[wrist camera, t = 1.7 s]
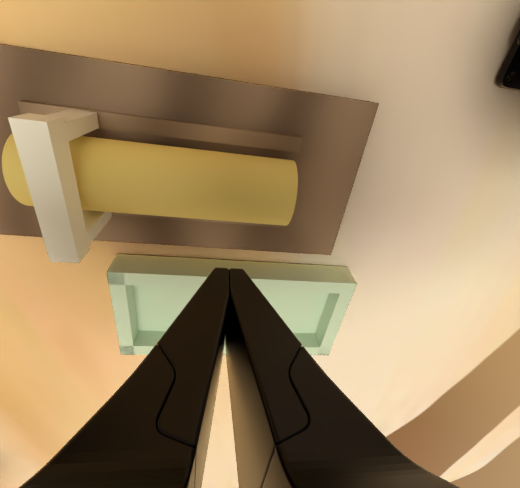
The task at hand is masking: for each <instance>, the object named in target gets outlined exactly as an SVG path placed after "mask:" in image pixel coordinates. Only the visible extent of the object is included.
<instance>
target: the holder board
mask: <svg viewBox="0 0 520 488" xmlns="http://www.w3.org/2000/svg"><path fill="white" fill-rule="evenodd" d="M378 105H379V103H374V102H369V101H362V100H356V99H349V98H343V97H337V96H330V95H324V94H318V93H311V92H305V91H298V90H292V89H286V88H279V87H273V86H267V85H260V84H254V83H247V82H241V81H235V80H228V79H222V78H216V77H209V76H203V75H196V74H190V73H184V72H177V71H171V70H165V69H158V68H152V67H145V66H139V65H133V64H126V63H120V62H113V61H107V60H101V59H94V58H88V57H82V56H75V55H69V54H62V53H56V52H50V51H43V50H37V49H31V48H24V47H18V46H11V45H5V44H0V234H2V235H18V236H34V237H43V236H42V232H41V229H40V225H39V222H38V219H37V215H36V212H35V208H34V206H27V205H23V204H21V203H20V202H18V201H17V200H16V199H15V198H14V197H13V196H12V194H11V193H10V191H9V189H8V187H7V185H6V183H5V180H4V176H3V171H2V153H3V148H4V145H5V143H6V141H7V139H8V137H9V136H10V135H11V134H12V130H11V127H10V123H9V120H8V117H12V116H17V115H22V114H26V113H33V114H41V115H47V114H52V113H56V112H60V111H64V110H68V109H74V110H81V111H89V112H97V116H98V123H99V128H98V129H95V130H93V131H91V132H89V133H87V134H84V135H82V136H87V137H96V138H104V139H113V140H122V141H130V142H139V143H148V144H156V145H165V146H173V147H182V148H191V149H199V150H208V151H217V152H225V153H234V154H243V155H251V156H260V157H268V158H277V159H286V160H293V161H295V163H296V166H297V172H298V189H297V198H296V204H295V209H294V213H293V216H292V219H291V221H290V223H289V224H288V225H287V226H283V225H270V224H257V223H244V222H231V221H218V220H205V219H192V218H179V217H167V216H154V215H141V214H128V213H115V212H111V214H112V217H111V219H110V220H109V221H108V222H107V224H106V225H105V226H104V227H103V229H102V230H101V231H100V233H99V234H98V235H97V236H96V238H95V239H94V240H99V241H115V242H131V243H147V244H163V245H179V246H195V247H211V248H227V249H243V250H259V251H275V252H291V253H307V254H323V255H331V253H332V249H333V246H334V243H335V240H336V237H337V234H338V231H339V227H340V224H341V221H342V218H343V215H344V212H345V209H346V205H347V202H348V199H349V196H350V193H351V190H352V187H353V183H354V180H355V177H356V174H357V171H358V168H359V165H360V161H361V158H362V155H363V152H364V149H365V146H366V143H367V140H368V136H369V133H370V130H371V127H372V124H373V121H374V118H375V114H376V111H377V108H378Z"/></svg>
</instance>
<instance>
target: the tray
mask: <svg viewBox="0 0 520 488" xmlns="http://www.w3.org/2000/svg"><path fill="white" fill-rule="evenodd" d="M216 267H220V268H228V269H230V268H238V269H243V270H244V271H245V272H246V273H247V275H248V276H249V277H250V278H251V280H252V281H253V282H254V283H255V285H256V286H257V287H258V289H259V290H260V291H261V292H262V294H263V295H264V296H265V298H266V299H267V300H268V301H269V303H270V304H271V305H272V307H273V308H274V309H275V310H276V312H277V313H278V314H279V316H280V317H281V318H282V319H283V321H284V322H285V323H286V325H287V326H288V327H289V328H290V330H291V331H292V332H293V334H294V335H295V336H296V337H297V339H298V340H299V341H300V343H301V344H302V346H303V347H304V348H305V349H306V350H307V351H308V353H309V354H310V355H329V352H330V350H331V347H332V345H333V342H334V340H335V337H336V335H337V332H338V330H339V327H340V325H341V322H342V320H343V317H344V315H345V312H346V310H347V307H348V305H349V302H350V300H351V297H352V295H353V292H354V290H355V287H356V285H357V283H356V281H355V280H354V278H353V277H352V275H351V273H350V272H349V270H348V268H347V267H344V266H326V265H308V264H290V263H272V262H255V261H237V260H219V259H201V258H183V257H166V256H148V255H130V254H117V255H116V257H115V259H114V261H113V262H112V264H111V266H110V267H109V269H108V271H107V277H108V283H109V289H110V295H111V300H112V306H113V312H114V318H115V323H116V329H117V335H118V341H119V346H120V352H121V355H148V354H149V353H150V351H151V350H152V349H153V347H154V346H155V345H157V342H158V341H159V340H160V338H161V337H162V336H163V335H164V333H165V332H166V331H167V329H168V328H169V327H170V325H171V324H172V323H173V321H174V320H175V319H176V318H177V316H178V315H179V314H180V312H181V311H182V310H183V308H184V307H185V306H186V304H187V303H188V302H189V301H190V299H191V298H192V297H193V295H194V294H195V293H196V291H197V290H198V289H199V288H200V286H201V285H202V284H203V282H204V281H205V280H206V278H207V277H208V276H209V274H210V273H211V272H212V271H213V269H214V268H216ZM223 355H226V346H225V343H224V350H223Z"/></svg>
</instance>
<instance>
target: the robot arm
mask: <svg viewBox="0 0 520 488" xmlns="http://www.w3.org/2000/svg"><path fill="white" fill-rule="evenodd" d="M509 74H510V78H509V79H508V80H507V77H508V75H509ZM497 85H498V86H500V87H503V88H509V89H514V90H520V32H519V34H518V36H517V38H516V40H515V42H514V44H513V46H512V48H511V50H510V52H509V54H508V56H507V59H506V61H505V63H504V65H503V67H502V69H501V71H500V73H499V75H498V77H497ZM224 343H225V346H226V358H227V368H228V379H229V389H230V399H231V410H232V420H233V430H234V441H235V451H236V461H237V472H238V482H239V488H460V487H458V486H456V485H454V484H452V483H450V482H448V481H446V480H444V479H442V478H440V477H438V476H436V475H434V474H433V473H431V472H428V471H427V470H425V469H424V468H422V467H421V466H419V465H417V464H416V463H414V462H413V461H412V460H410V459H409V458H408V457H407V456H405V455H404V454H403V453H402V452H401V451H400V450H398V449H397V448H396V447H395V446H394V445H393V444H392V443H391V442H390V441H389V440H388V439H387V438H386V437H385V436H384V435H383V434H382V433H381V432H380V431H379V430H378V429H377V428H376V427H375V426H374V425H373V423H372V422H371V421H370V420H369V419H368V418H367V417H366V416H365V415H364V414H363V413H362V412H361V411H360V410H359V409H358V408H357V407H356V406H355V405H354V404H353V403H352V402H351V400H350V399H349V398H348V397H347V396H346V395H345V394H344V393H343V392H342V391H341V390H340V389H339V388H338V387H337V386H336V384H335V383H334V382H333V381H332V380H331V379H330V378H329V377H328V376H327V375H326V374H325V372H324V371H323V370H322V369H321V367H320V366H319V365H318V364H317V363H316V361H315V360H314V359H313V358H312V357H311V355H310V354H309V353H308V351H307V350H306V349H305V348H304V347H303V346H302V344H301V343H300V341H299V340H298V339H297V337H296V336H295V335H294V334H293V332H292V331H291V330H290V328H289V327H288V326H287V325H286V323H285V322H284V321H283V319H282V318H281V317H280V316H279V314H278V313H277V312H276V310H275V309H274V308H273V307H272V305H271V304H270V303H269V301H268V300H267V299H266V298H265V296H264V295H263V294H262V292H261V291H260V290H259V289H258V287H257V286H256V285H255V283H254V282H253V281H252V280H251V278H250V277H249V276H248V275H247V273H246V272H245V271H244V270H243V269H238V268H230V269H228V268H220V267H216V268H214V269H213V271H212V272H211V273H210V274H209V276H208V277H207V278H206V280H205V281H204V282H203V284H202V285H201V286H200V288H199V289H198V290H197V291H196V293H195V294H194V295H193V297H192V298H191V299H190V301H189V302H188V303H187V304H186V306H185V307H184V308H183V310H182V311H181V312H180V314H179V315H178V316H177V318H176V319H175V320H174V321H173V323H172V324H171V325H170V327H169V328H168V329H167V331H166V332H165V333H164V335H163V336H162V337H161V338H160V340H159V341H158V342H157V345H155V346H154V347H153V349H152V350H151V351H150V353H149V354H148V355H147V357H146V358H145V359H144V360H143V361H142V363H141V364H140V365H139V366H138V368H137V369H136V370H135V371H134V372H133V374H132V375H131V376H130V377H129V378H128V379H127V380H126V381H125V383H124V384H123V385H122V386H121V387H120V388H119V389H118V390H117V391H116V392H115V393H114V395H113V396H112V397H111V398H110V399H109V400H108V401H107V402H106V403H105V404H104V405H103V406H102V407H101V408H100V409H99V410H98V411H97V412H96V413H95V414H94V415H93V416H92V418H91V419H90V420H89V421H88V422H87V423H86V424H85V425H84V426H83V427H82V428H81V429H80V430H79V431H78V432H77V433H76V434H75V435H74V436H73V437H72V438H71V439H70V440H69V441H68V442H67V444H66V445H65V446H64V447H63V448H62V449H61V450H60V451H59V452H58V453H57V454H56V455H55V456H54V457H53V458H52V459H51V460H50V461H49V462H48V463H47V464H46V465H45V466H44V467H43V468H42V469H40V470H39V471H38V472H37V473H36V474H35V475H34V476H33V477H31V478H30V479H29V480H28V481H27V482H25V483H24V484H23V485H22V486H20V487H19V488H201V486H202V479H203V473H204V467H205V461H206V455H207V449H208V443H209V436H210V430H211V424H212V418H213V412H214V406H215V400H216V393H217V387H218V381H219V375H220V369H221V363H222V357H223V350H224Z"/></svg>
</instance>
